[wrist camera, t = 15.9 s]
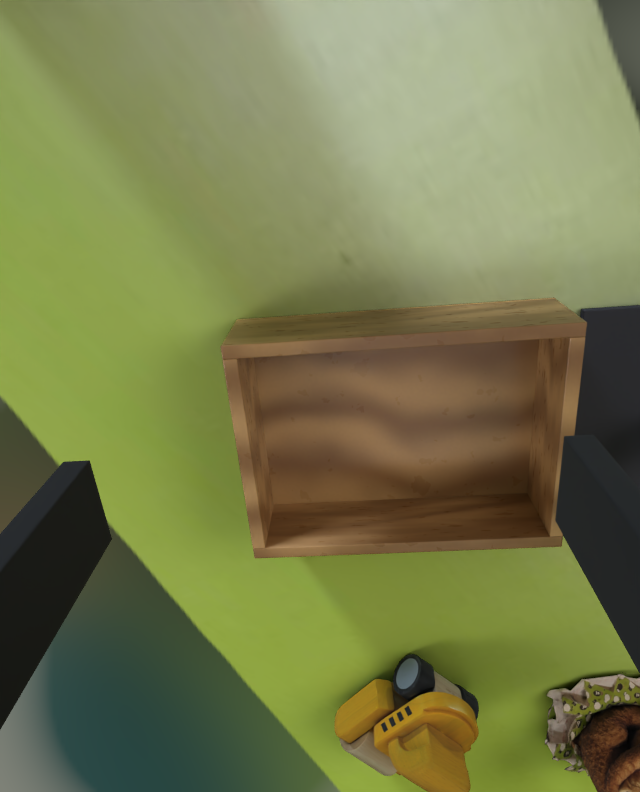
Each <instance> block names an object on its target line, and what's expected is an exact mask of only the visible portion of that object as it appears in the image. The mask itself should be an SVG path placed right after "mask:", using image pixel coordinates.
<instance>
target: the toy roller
mask: <svg viewBox="0 0 640 792" xmlns="http://www.w3.org/2000/svg"><path fill="white" fill-rule="evenodd" d="M478 711H479V708H478V702H477V699H476V698H475V696H474V695H473V694H471V693H469V692H468V691H466V690H465V689H464V688H462V687H461V686H459V685H456V684H453V683H451V682H450V681H448V680H447V679H445V678H444V677H443V676H441V675H440V674H438V673H437V672H435V671H434V669H433V667H432V666H431V665H430V664H428V663H427V662H426V661H424V660H423V659H421V658H420V657H419V656H417V655H415V654H409V655H406V656H405V657H404V658H403V659H402V660H401V661H400V662H399V664H398V665H397V668H396V669H395V672H394V676H393V682H390V681H388V680H383V679H375V680H373V681H372V682H371V683H369V684H368V685H367V686H365V687H364V688H363V689H361V690H360V691H359V692H358V693H356V694H355V695H354V696H353V697H352V698H350V699H349V700H348V701H347V702H345V703H344V704H343V705H342V706H341V707H340V708H339V709H338V711H337V713H336V716H335V733H336V735H337V736H338V737H339V738H340V743H341V746H342V748H343V749H344V750H345V751H347V752H348V753H350V754H351V755H353V756H355V757H356V758H358V759H359V760H361V761H362V762H364V763H365V764H367V765H369V766H370V767H372V768H373V769H375V770H376V771H378V772H379V773H381V774H383V775H385V776H390V775H393V774H395V773H397V774H398V775H403V776H404V777H405V778H407V779H408V780H410V781H412V782H413V783H415V784H416V785H418V786H420V787H421V788H423V789H424V790H426V791H428V792H469V790H470V780H469V775H468V771H467V768H466V764H465V758H464V753H466V752H467V751H469V750H470V749H471V745H472V744H473V743H474V742H475V740H476V739H477V737H478V727H477V722H476V719H477V717H478Z"/></svg>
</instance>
